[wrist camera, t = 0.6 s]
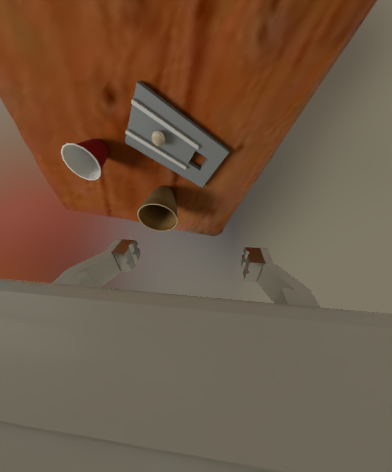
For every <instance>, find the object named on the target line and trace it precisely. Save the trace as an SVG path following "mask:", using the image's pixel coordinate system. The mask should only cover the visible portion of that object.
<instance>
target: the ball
mask: <svg viewBox="0 0 392 472" xmlns="http://www.w3.org/2000/svg"><path fill="white" fill-rule="evenodd" d="M151 138H152V142H153V143H154V144H155V145H156V146H162V145H163V144H164V143H165V136H164V134H163V133H162V132H161V131H158V130H156V131H154V132H153V133H152V136H151Z"/></svg>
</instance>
